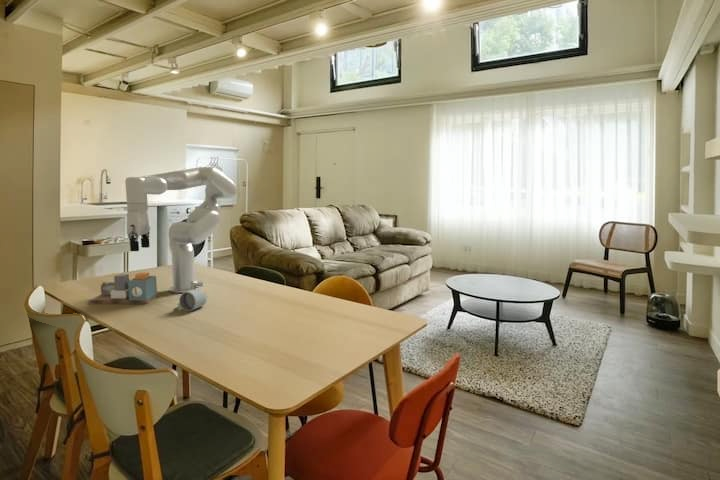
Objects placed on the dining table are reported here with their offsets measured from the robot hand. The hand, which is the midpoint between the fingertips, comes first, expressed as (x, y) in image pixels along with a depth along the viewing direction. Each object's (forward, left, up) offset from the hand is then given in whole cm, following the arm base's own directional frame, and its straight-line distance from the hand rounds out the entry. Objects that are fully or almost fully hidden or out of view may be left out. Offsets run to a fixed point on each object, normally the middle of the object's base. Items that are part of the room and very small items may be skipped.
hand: (140, 249), depth 177 cm
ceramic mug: (-24, +11, -22) cm, 34 cm away
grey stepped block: (+8, 0, -20) cm, 22 cm away
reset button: (0, 0, -13) cm, 13 cm away
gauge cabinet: (0, +1, -20) cm, 20 cm away
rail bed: (+7, 0, -22) cm, 23 cm away
